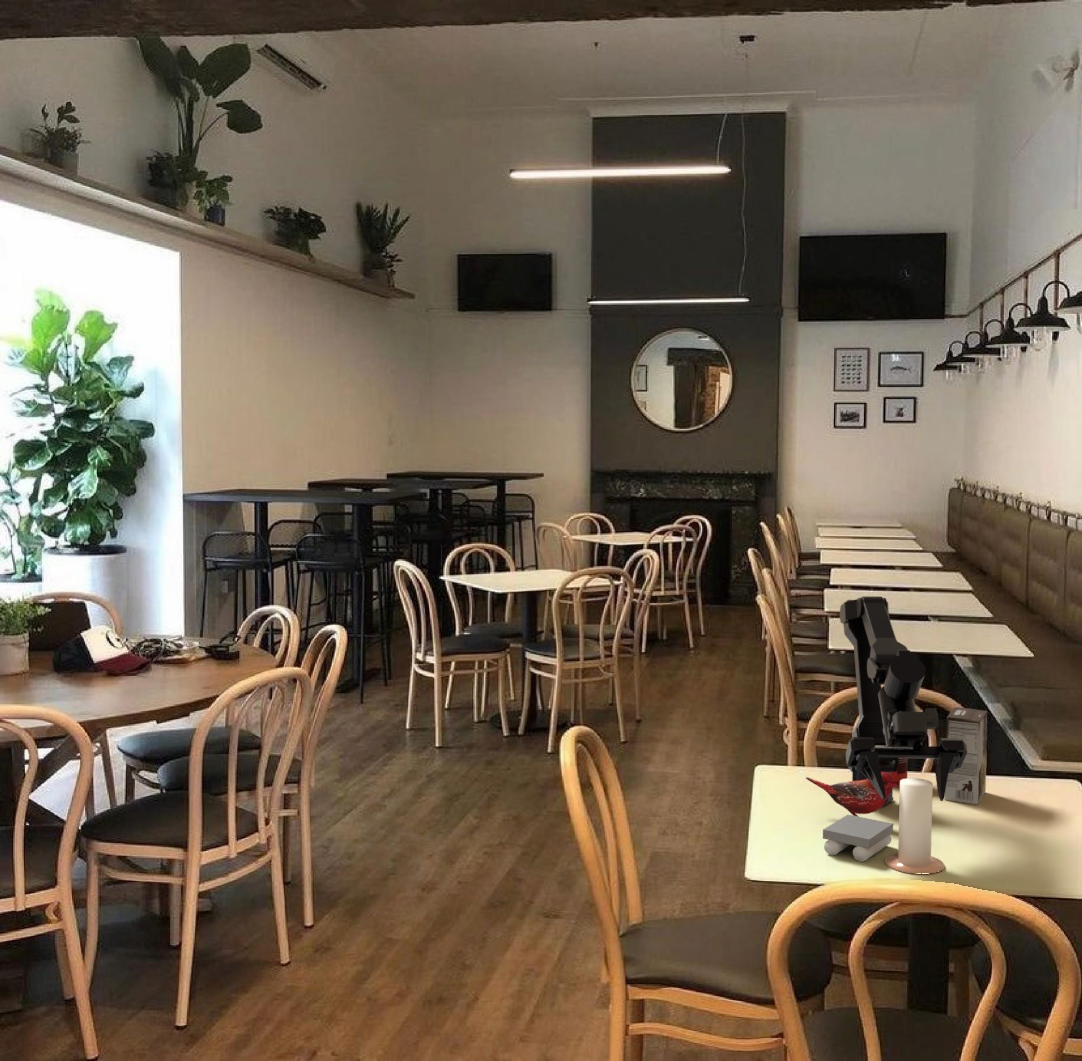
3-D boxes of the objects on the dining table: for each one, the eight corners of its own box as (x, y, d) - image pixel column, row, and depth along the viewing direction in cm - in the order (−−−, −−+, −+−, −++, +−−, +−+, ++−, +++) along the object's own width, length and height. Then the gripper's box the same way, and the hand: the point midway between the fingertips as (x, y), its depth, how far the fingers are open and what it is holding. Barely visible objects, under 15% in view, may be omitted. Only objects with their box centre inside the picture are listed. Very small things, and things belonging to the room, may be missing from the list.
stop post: (891, 860, 197) (893, 781, 196) (911, 854, 200) (913, 776, 199) (917, 869, 193) (919, 788, 192) (937, 863, 196) (939, 783, 195)
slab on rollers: (822, 853, 201) (822, 829, 201) (847, 837, 209) (847, 814, 209) (868, 863, 197) (869, 839, 196) (892, 846, 204) (893, 823, 204)
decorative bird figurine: (893, 832, 212) (894, 776, 211) (801, 812, 223) (802, 758, 222) (900, 828, 214) (901, 772, 213) (808, 808, 225) (809, 755, 225)
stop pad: (876, 866, 195) (876, 863, 195) (897, 851, 202) (898, 848, 202) (932, 878, 190) (932, 876, 190) (952, 862, 197) (952, 860, 197)
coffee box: (951, 787, 238) (953, 706, 237) (986, 792, 235) (988, 709, 234) (943, 800, 230) (945, 716, 229) (979, 805, 227) (981, 719, 226)
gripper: (850, 689, 202) (862, 773, 192) (965, 690, 200) (983, 775, 190) (840, 724, 210) (851, 807, 200) (951, 725, 209) (967, 809, 199)
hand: (913, 799), depth 197 cm, fingers open, 9 cm apart
